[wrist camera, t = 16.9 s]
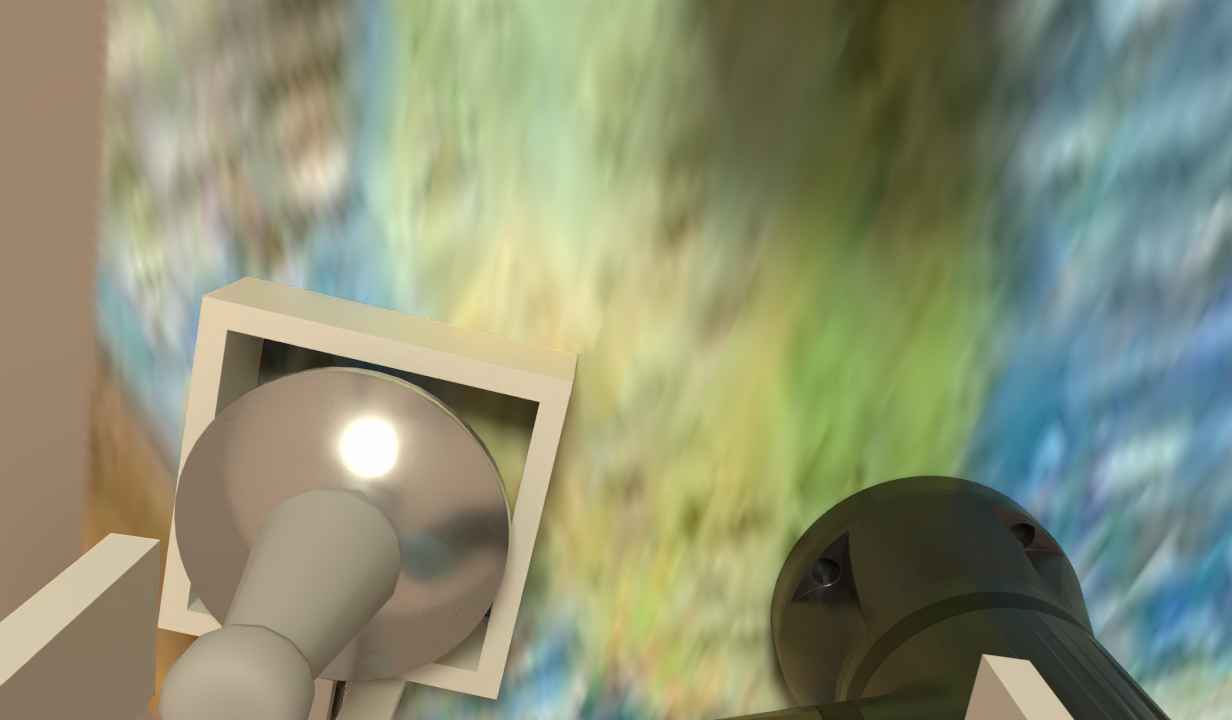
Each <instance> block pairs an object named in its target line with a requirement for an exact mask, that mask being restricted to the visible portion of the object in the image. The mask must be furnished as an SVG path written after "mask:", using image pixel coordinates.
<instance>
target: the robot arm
mask: <svg viewBox="0 0 1232 720" xmlns="http://www.w3.org/2000/svg"><path fill="white" fill-rule="evenodd" d="M159 564H160V540H157V539H150V538H143V537H136V536H129V535H121V534H114V533H110V534H109V535H108V536H107V537H105V538H104V539H103V540H102V541H100V542H99V543H98V544H97V545H96V546H94V547H93V548H92V549H91V550H89V551H88V552H87V553H86V554H84V555H83V556H82V557H81V558H80V559H78V560H77V561H76V562H75V563H73V564H72V565H71V566H70V567H68V568H67V569H66V570H65V571H64V572H62V573H61V574H60V575H59V576H58V577H56V578H55V579H54V580H52V581H51V582H50V583H49V584H47V585H46V586H45V587H44V588H42V589H41V590H40V591H39V592H38V593H36V594H35V595H34V596H33V597H31V598H30V599H29V600H28V601H26V602H25V603H24V604H23V605H22V606H20V607H19V608H18V609H17V610H15V611H14V612H13V613H12V614H10V615H9V616H8V617H7V618H6V619H4V620H3V621H2V622H1V623H0V720H134V719H135V718H136V717H137V716H138V715H139V713H140V712H141V711H142V710H143V708H144V707H145V706H146V705H147V703H148V702H149V701H150V700H151V698H152V697H153V696H154V695H155V672H156V645H157V618H158V591H159ZM771 620H772V633H773V640H774V644H775V649H776V652H777V655H778V659H779V662H780V665H781V669H782V672H783V675H784V678H785V681H786V683H787V685H788V688H789V690H790V692H791V693H792V695H793V697H794V699H795V700H796V702H797V704H798V705H799V707H797V708H791V709H785V710H779V711H772V712H765V713H758V714H751V715H744V716H737V717H730V718H723V719H716V720H1171V719H1170V718H1169V717H1168V716H1167V715H1166V714H1165V713H1164V712H1163V711H1162V710H1161V708H1160V707H1159V706H1158V705H1157V704H1156V703H1155V702H1154V701H1153V700H1152V699H1151V698H1150V697H1149V695H1148V694H1147V693H1146V692H1145V691H1144V690H1143V689H1142V688H1141V687H1140V686H1139V685H1138V684H1137V683H1136V681H1135V680H1134V679H1133V678H1132V677H1131V676H1130V675H1129V674H1128V673H1127V672H1126V671H1125V670H1124V669H1123V667H1122V666H1121V665H1120V664H1119V663H1118V662H1117V661H1116V660H1115V659H1114V658H1113V657H1112V656H1111V655H1110V653H1109V652H1108V651H1107V650H1106V649H1105V648H1104V647H1103V646H1102V645H1101V644H1100V643H1099V642H1098V641H1097V640H1096V639H1095V638H1094V634H1093V631H1092V627H1091V623H1090V620H1089V616H1088V612H1087V609H1086V605H1085V602H1084V598H1083V594H1082V591H1081V587H1080V584H1079V581H1078V578H1077V576H1076V573H1075V571H1074V569H1073V567H1072V565H1071V563H1070V561H1069V559H1068V558H1067V556H1066V554H1065V553H1064V551H1063V550H1062V548H1061V547H1060V545H1059V544H1058V543H1057V542H1056V540H1055V539H1054V538H1053V537H1052V536H1051V535H1050V533H1049V532H1048V531H1047V530H1046V529H1045V528H1044V527H1043V526H1042V525H1041V524H1040V523H1039V522H1038V521H1037V520H1036V519H1034V518H1033V517H1032V516H1031V515H1030V514H1029V513H1028V512H1027V511H1026V510H1025V509H1024V508H1022V507H1021V506H1020V505H1019V504H1017V503H1016V502H1015V501H1013V500H1012V499H1010V498H1009V497H1007V496H1005V495H1003V494H1002V493H1000V492H998V491H996V490H994V489H991V488H989V487H987V486H984V485H981V484H978V483H975V482H972V481H968V480H963V479H959V478H952V477H943V476H918V477H908V478H901V479H896V480H892V481H888V482H884V483H881V484H878V485H875V486H872V487H869V488H867V489H864V490H862V491H860V492H858V493H856V494H854V495H852V496H850V497H848V498H846V499H845V500H843V501H841V502H840V503H838V504H837V505H835V506H834V507H832V508H831V509H830V510H828V511H827V512H826V513H825V514H823V515H822V516H821V517H820V518H819V519H818V520H817V521H816V522H815V523H813V524H812V525H811V526H810V528H809V529H808V530H807V531H806V532H805V533H804V534H803V536H802V537H801V538H800V539H799V541H798V542H797V543H796V545H795V546H794V548H793V549H792V551H791V552H790V554H789V556H788V558H787V560H786V561H785V564H784V566H783V568H782V570H781V573H780V575H779V578H778V581H777V584H776V588H775V592H774V597H773V604H772V619H771Z"/></svg>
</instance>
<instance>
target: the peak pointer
mask: <svg viewBox="0 0 1232 720" xmlns="http://www.w3.org/2000/svg"><path fill="white" fill-rule="evenodd" d="M345 685H346V681H342V680H338V681H337V686H336V691H335V696H334V701H333V707H332V712H331V717H330V720H336V718H337V715H338V713H339V711H340V709H341V706H342V700H343V695H344V690H345Z"/></svg>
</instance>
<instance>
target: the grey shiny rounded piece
mask: <svg viewBox="0 0 1232 720" xmlns="http://www.w3.org/2000/svg"><path fill="white" fill-rule="evenodd" d="M315 488H324V489H337V490H353V489H359V490H360V491H361V492H362V493H363V494H365V495H366V496H367V497H368V498H369V499H371V500H372V501H373V502H374V503H375V504H376V505H378V506H379V507H380V508H381V509H382V510H384V511H385V512H386V513H387V514H388V515H390V516H391V517H392V520H393V522H394V525H395V527H396V529H397V533H398V538H399V542H400V547H401V552H402V557H403V563H402V567H401V571H400V574H399V578H398V581H397V585H396V588H395V592H394V595H393V596H392V597H391V598H390V599H389V600H388V601H387V602H386V604H385V605H384V606H383V607H382V608H381V609H380V610H379V611H378V612H377V613H376V614H375V615H374V617H373V618H372V619H371V620H370V621H369V622H368V623H367V624H366V625H365V626H364V627H363V628H362V629H361V631H360V632H359V633H358V634H357V635H356V636H355V637H354V638H353V639H352V640H351V641H350V642H349V644H348V645H347V646H346V647H345V648H344V649H343V650H342V651H341V652H340V653H339V654H338V655H337V657H336V658H335V659H334V660H333V661H332V662H331V663H330V664H329V665H328V666H327V667H326V668H325V670H324V671H323V672H322V673H321V674H320V675H319V676H318V677H317V678H316V679H315V680H314V685H315V695H314V699H313V703H312V707H311V711H310V714H309V718H308V720H330V717H331V712H332V707H333V701H334V696H335V691H336V686H337V681H338V680H342V681H365V680H377V679H383V678H388V677H393V676H398V675H401V674H404V673H407V672H410V671H413V670H416V669H418V668H421V667H423V666H425V665H427V664H429V663H431V662H433V661H435V660H437V659H438V658H440V657H441V656H443V655H445V654H446V653H448V652H449V651H451V650H452V649H453V648H455V647H456V646H457V645H458V644H459V643H460V642H462V641H463V640H464V639H465V638H466V637H467V636H468V635H469V634H470V633H471V632H472V631H473V630H474V628H475V627H476V626H477V625H478V624H479V623H480V622H481V620H482V619H483V617H484V616H485V614H486V613H487V611H488V610H489V608H490V607H491V605H492V602H493V600H494V598H495V596H496V594H497V592H498V590H499V587H500V584H501V581H502V578H503V575H504V571H505V568H506V564H507V560H508V554H509V547H510V541H511V517H510V509H509V501H508V497H507V494H506V490H505V486H504V482H503V480H502V477H501V475H500V472H499V470H498V468H497V465H496V463H495V461H494V459H493V458H492V456H491V454H490V453H489V451H488V449H487V447H486V446H485V444H484V443H483V441H482V440H481V439H480V438H479V436H478V435H477V434H476V432H475V431H474V430H473V429H472V427H471V426H470V425H469V424H468V423H467V422H466V421H465V420H464V419H463V418H462V417H461V416H460V415H459V414H458V413H457V412H456V411H454V410H453V409H452V408H450V407H449V406H448V405H447V404H445V403H444V402H443V401H441V400H440V399H439V398H437V397H436V396H434V395H432V394H430V393H429V392H427V391H425V390H424V389H422V388H420V387H419V386H416V385H414V384H412V383H409V382H407V381H405V380H402V379H400V378H398V377H394V376H391V375H388V374H384V373H381V372H377V371H372V370H366V369H360V368H352V367H323V368H312V369H306V370H302V371H297V372H293V373H289V374H286V375H283V376H280V377H278V378H275V379H272V380H269V381H267V382H266V383H264V384H262V385H260V386H258V387H256V388H254V389H252V390H250V391H249V392H248V393H246V394H245V395H243V396H242V397H241V398H239V399H238V400H237V401H235V402H234V403H232V404H231V405H230V406H228V407H227V408H226V409H224V410H223V411H222V412H221V413H220V414H219V415H218V416H217V417H216V418H215V419H214V420H213V421H212V422H211V423H210V424H209V425H208V426H207V428H206V429H205V430H204V432H203V433H202V434H201V436H200V437H199V438H198V439H197V441H196V443H195V444H194V446H193V448H192V450H191V452H190V453H189V455H188V457H187V459H186V462H185V464H184V467H183V470H182V473H181V475H180V478H179V483H178V488H177V492H176V498H175V513H174V520H175V533H176V540H177V545H178V549H179V554H180V558H181V560H182V563H183V566H184V569H185V571H186V574H187V577H188V579H189V580H190V582H191V584H192V586H193V588H194V590H195V592H196V594H197V595H198V597H199V598H200V600H201V601H202V603H203V604H204V605H205V607H206V608H207V610H208V611H209V612H210V614H211V615H212V616H213V617H214V618H215V619H216V620H217V621H218V623H219V624H220V625H221V626H223V624H224V622H225V619H226V617H227V614H228V612H229V610H230V607H231V604H232V601H233V599H234V596H235V593H236V591H237V588H238V585H239V582H240V580H241V577H242V574H243V572H244V569H245V566H246V563H247V561H248V558H249V555H250V553H251V550H252V547H253V544H254V542H255V539H256V536H257V534H258V531H259V528H260V526H261V524H262V523H263V522H264V521H265V519H266V518H267V517H268V516H269V515H270V514H271V513H272V512H273V511H274V509H275V508H276V507H277V506H278V505H279V504H280V503H281V502H282V501H284V500H285V499H287V498H290V497H292V496H295V495H298V494H301V493H304V492H307V491H310V490H313V489H315Z"/></svg>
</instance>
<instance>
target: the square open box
mask: <svg viewBox="0 0 1232 720" xmlns="http://www.w3.org/2000/svg"><path fill="white" fill-rule="evenodd" d="M264 338H266V339H270V340H275V341H279V342H283V343H288V344H292V345H296V346H300V347H305V348H309V349H313V350H318V351H322V352H326V353H331V354H335V355H339V356H344V357H348V358H352V359H357V360H361V361H365V362H369V363H374V364H378V365H382V366H387V367H391V368H395V369H400V370H404V371H408V372H413V373H417V374H421V375H425V376H430V377H434V378H438V379H443V380H447V381H451V382H456V383H460V384H464V385H469V386H473V387H477V388H481V389H486V390H490V391H494V392H499V393H503V394H507V395H512V396H516V397H520V398H525V399H529V400H533V401H538V402H540V404H539V408H538V412H537V417H536V421H535V425H534V429H533V434H532V438H531V442H530V447H529V451H528V455H527V459H526V464H525V468H524V472H523V477H522V481H521V485H520V490H519V494H518V498H517V502H516V507H515V511H514V515H513V520H512V524H511V541H510V547H509V554H508V560H507V564H506V568H505V571H504V575H503V578H502V581H501V584H500V587H499V590H498V592H497V594H496V596H495V598H494V601H493V605H492V610H491V614H490V617H485V616H484V617H483V619H482V620H481V622H480V623H479V624H478V625H477V626H476V627H475V628H474V630H473V631H472V632H471V633H470V634H469V635H468V636H467V637H466V638H465V639H464V640H463V641H462V642H460V643H459V644H458V645H457V646H456V647H455V648H453V649H452V650H451V651H449V652H448V653H446V654H445V655H443V656H441V657H440V658H438V659H437V660H435V661H433V662H431V663H429V664H427V665H425V666H423V667H421V668H418V669H416V670H413V671H410V672H407V673H404V674H401V675H398V676H393V677H388V678H383V679H377V680H365V681H353V683H352V685H351V687H350V690H349V692H348V694H347V696H346V698H345V700H344V702H343V705H342V707H341V709H340V711H339V713H338V715H337V718H336V720H393V718H394V715H395V712H396V710H397V707H398V704H399V701H400V698H401V695H402V693H403V690H404V687H405V685H406V682H407V681H411V682H416V683H421V684H425V685H430V686H435V687H439V688H444V689H449V690H454V691H458V692H463V693H468V694H472V695H477V696H482V697H486V698H491V699H496V700H497V696H498V692H499V688H500V684H501V680H502V676H503V672H504V667H505V663H506V659H507V655H508V651H509V647H510V643H511V638H512V634H513V630H514V626H515V622H516V618H517V613H518V609H519V605H520V601H521V597H522V593H523V589H524V584H525V580H526V576H527V572H528V568H529V564H530V559H531V555H532V551H533V547H534V543H535V539H536V535H537V530H538V526H539V522H540V518H541V514H542V510H543V505H544V501H545V497H546V493H547V489H548V485H549V481H550V476H551V472H552V468H553V464H554V460H555V456H556V451H557V447H558V443H559V439H560V435H561V431H562V427H563V422H564V418H565V414H566V410H567V406H568V402H569V397H570V393H571V389H572V385H573V380H574V374H575V368H576V362H577V356H578V354H575V353H571V352H567V351H563V350H558V349H554V348H550V347H546V346H541V345H537V344H533V343H529V342H524V341H520V340H516V339H512V338H507V337H503V336H499V335H495V334H490V333H486V332H482V331H478V330H473V329H469V328H465V327H461V326H457V325H452V324H448V323H444V322H440V321H435V320H431V319H427V318H423V317H418V316H414V315H410V314H406V313H401V312H397V311H393V310H389V309H384V308H380V307H376V306H372V305H367V304H363V303H359V302H355V301H350V300H346V299H342V298H338V297H333V296H329V295H325V294H321V293H316V292H312V291H308V290H304V289H299V288H295V287H291V286H287V285H282V284H278V283H274V282H270V281H265V280H261V279H257V278H253V277H248V276H247V277H245V278H242V279H240V280H238V281H236V282H233V283H231V284H229V285H226V286H224V287H222V288H220V289H217V290H215V291H213V292H210V293H208V294H206V295H204V296H203V298H202V305H201V312H200V320H199V327H198V334H197V342H196V349H195V356H194V364H193V371H192V378H191V386H190V393H189V401H188V408H187V415H186V423H185V430H184V437H183V445H182V452H181V459H180V467H179V474H178V481H177V488H178V483H179V478H180V475H181V473H182V470H183V467H184V464H185V462H186V459H187V457H188V455H189V453H190V452H191V450H192V448H193V446H194V444H195V443H196V441H197V439H198V438H199V437H200V436H201V434H202V433H203V432H204V430H205V429H206V428H207V426H208V425H209V424H210V423H211V422H212V421H213V420H214V419H215V418H216V417H217V416H218V415H219V414H220V413H221V412H222V411H223V410H224V409H226V408H227V407H228V406H230V405H231V404H232V403H234V402H235V401H237V400H238V399H239V398H241V397H242V396H243V395H245V394H246V393H248V392H249V391H250V390H252V389H254V388H256V387H257V381H258V375H259V368H260V362H261V355H262V349H263V342H264ZM176 492H177V489H176ZM175 498H176V496H175ZM174 513H175V503H174V511H173V518H172V525H171V533H170V540H169V548H168V555H167V562H166V570H165V577H164V584H163V592H162V599H161V606H160V614H159V621H158V628H163V629H167V630H172V631H177V632H181V633H186V634H191V635H195V636H201V635H203V634H205V633H208V632H211V631H214V630H217V629H220V628H222V626H221V625H220V624H219V623H218V621H217V620H216V619H215V618H214V617H213V616H212V615H211V614H210V612H209V611H208V610H207V608H206V607H205V605H204V604H203V603H202V601H201V600H200V598H199V597H198V595H197V594H196V592H195V590H194V588H193V586H192V584H191V582H190V580H189V579H188V577H187V574H186V571H185V569H184V566H183V563H182V560H181V558H180V554H179V549H178V545H177V540H176V533H175V520H174Z"/></svg>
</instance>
